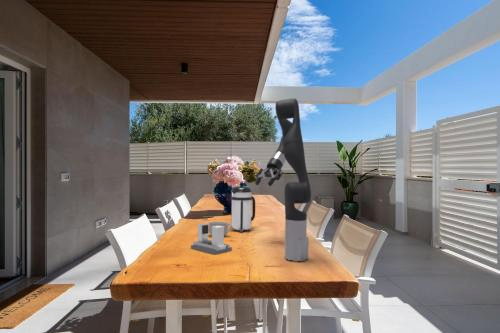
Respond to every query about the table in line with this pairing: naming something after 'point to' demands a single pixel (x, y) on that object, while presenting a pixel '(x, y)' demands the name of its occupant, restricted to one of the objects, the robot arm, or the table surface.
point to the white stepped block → (218, 237)
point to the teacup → (224, 224)
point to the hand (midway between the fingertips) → (262, 184)
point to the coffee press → (242, 207)
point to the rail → (207, 242)
